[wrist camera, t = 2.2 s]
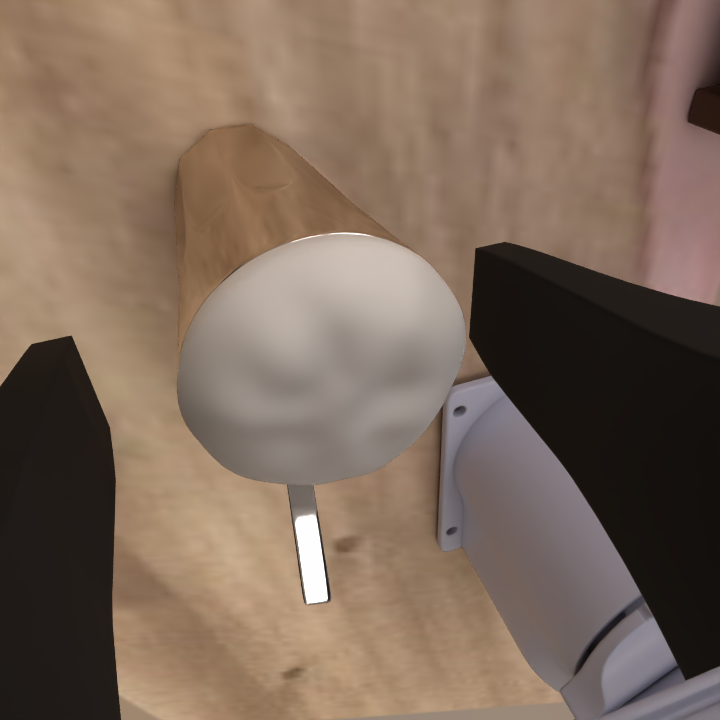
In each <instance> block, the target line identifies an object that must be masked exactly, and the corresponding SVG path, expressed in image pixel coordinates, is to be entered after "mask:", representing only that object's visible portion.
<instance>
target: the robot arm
mask: <svg viewBox="0 0 720 720" xmlns="http://www.w3.org/2000/svg"><path fill="white" fill-rule="evenodd" d="M469 338H470V340H471V342H472V343H473V345H474V347H475V349H476V351H477V352H478V354H479V356H480V358H481V360H482V361H483V363H484V365H485V366H486V368H487V369H488V371H489V373H490V374H491V376H488V377H484V378H481V379H477V380H473V381H469V382H466V383H462V384H458V385H455V386H453V387H451V389H450V391H449V393H448V395H447V397H446V399H445V401H444V403H443V420H442V443H441V467H440V491H439V514H438V538H437V543H438V545H439V547H440V549H441V550H442V551H444V552H449V551H452V550H455V549H458V548H461V547H463V549H464V551H465V553H466V554H467V556H468V558H469V560H470V562H471V563H472V565H473V567H474V569H475V571H476V572H477V574H478V576H479V578H480V580H481V581H482V583H483V585H484V587H485V588H486V590H487V592H488V594H489V596H490V597H491V599H492V601H493V603H494V605H495V606H496V608H497V610H498V612H499V614H500V615H501V617H502V619H503V621H504V622H505V624H506V626H507V628H508V630H509V631H510V633H511V635H512V637H513V639H514V640H515V642H516V644H517V646H518V648H519V649H520V651H521V653H522V655H523V656H524V658H525V659H526V661H527V662H528V664H529V665H530V667H531V668H532V669H533V670H534V672H535V673H536V674H537V675H538V676H539V677H540V678H541V679H542V680H543V681H544V682H546V683H547V684H548V685H549V686H551V687H552V688H554V689H555V690H556V691H558V692H560V693H561V695H562V697H563V699H564V700H565V702H566V704H567V705H568V707H569V709H570V711H571V712H572V714H573V715H574V717H575V719H574V720H720V307H719V306H715V305H710V304H706V303H701V302H697V301H692V300H688V299H684V298H681V297H677V296H673V295H669V294H666V293H662V292H659V291H656V290H652V289H649V288H645V287H642V286H639V285H635V284H632V283H629V282H626V281H623V280H620V279H617V278H614V277H611V276H608V275H605V274H602V273H599V272H596V271H593V270H590V269H587V268H584V267H582V266H579V265H576V264H573V263H570V262H567V261H565V260H562V259H559V258H556V257H553V256H550V255H548V254H545V253H542V252H539V251H536V250H533V249H529V248H526V247H523V246H519V245H516V244H511V243H507V242H503V243H498V244H493V245H489V246H484V247H480V248H476V250H475V264H474V278H473V291H472V305H471V319H470V333H469ZM459 406H460V407H459ZM457 407H459V408H458V409H456V408H457ZM455 409H456V410H455ZM115 486H116V477H115V468H114V458H113V449H112V441H111V433H110V427H109V424H108V422H107V420H106V417H105V415H104V412H103V410H102V408H101V405H100V403H99V400H98V398H97V395H96V393H95V391H94V388H93V386H92V383H91V381H90V379H89V376H88V374H87V371H86V369H85V366H84V364H83V362H82V359H81V357H80V354H79V352H78V350H77V347H76V345H75V342H74V340H73V338H72V336H67V337H62V338H58V339H53V340H48V341H44V342H39V343H35V344H31V346H30V347H29V348H28V349H27V351H26V352H25V353H24V354H23V356H22V357H21V359H20V360H19V361H18V363H17V364H16V365H15V367H14V368H13V370H12V371H11V372H10V374H9V375H8V377H7V378H6V379H5V381H4V382H3V383H2V385H1V386H0V720H121V714H120V705H119V694H118V684H117V672H116V660H115V647H114V635H113V616H112V587H113V556H114V525H115Z"/></svg>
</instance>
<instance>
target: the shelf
mask: <svg viewBox="0 0 720 720" xmlns="http://www.w3.org/2000/svg"><path fill="white" fill-rule="evenodd" d="M688 122H689V123H691V124H694V125H696V126H699V127H701V128H704V129H707V130H709V131H712V132H715V133H717V134H720V86H716V87H710V88H704V89H699V90H697V91H696V93H695V96H694V100H693V104H692V108H691V111H690V115H689V119H688Z"/></svg>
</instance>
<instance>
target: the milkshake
mask: <svg viewBox="0 0 720 720" xmlns="http://www.w3.org/2000/svg"><path fill="white" fill-rule="evenodd" d="M174 207H175V226H176V244H177V263H178V281H179V296H178V372H177V395H178V403H179V407H180V411H181V414H182V417H183V419H184V421H185V423H186V425H187V426H188V428H189V430H190V431H191V432H192V434H193V435H194V436H195V437H196V439H197V440H198V441H199V442H200V443H201V444H202V445H203V447H204V448H205V449H206V450H207V451H208V452H209V454H210V455H211V456H212V457H213V458H214V459H216V460H217V461H218V462H219V463H220V464H221V465H222V466H224V467H225V468H227V469H228V470H230V471H232V472H234V473H236V474H238V475H240V476H243V477H246V478H249V479H253V480H258V481H263V482H270V483H278V484H287V487H288V494H289V502H290V509H291V516H292V523H293V530H294V537H295V544H296V551H297V559H298V566H299V573H300V580H301V587H302V594H303V599H304V603H305V604H306V605H315V604H322V603H328V602H330V601H331V592H330V585H329V579H328V573H327V567H326V560H325V554H324V548H323V542H322V535H321V529H320V523H319V517H318V511H317V504H316V498H315V492H314V486H313V485H319V484H324V483H329V482H334V481H338V480H342V479H347V478H352V477H357V476H361V475H365V474H368V473H371V472H374V471H376V470H378V469H380V468H381V467H383V466H385V465H386V464H387V463H389V462H390V461H392V460H393V459H394V458H396V457H397V456H399V455H400V454H401V453H403V452H404V451H405V450H406V449H408V448H409V447H410V446H411V445H412V444H413V443H414V442H415V441H416V440H417V439H418V438H419V437H420V436H421V435H422V434H423V433H424V431H425V430H426V429H427V428H428V427H429V425H430V424H431V423H432V421H433V420H434V418H435V417H436V415H437V414H438V412H439V411H440V409H441V407H442V405H443V403H444V401H445V399H446V397H447V395H448V393H449V391H450V389H451V387H452V385H453V383H454V381H455V379H456V377H457V374H458V372H459V369H460V367H461V364H462V360H463V356H464V351H465V343H466V329H465V321H464V317H463V313H462V310H461V308H460V306H459V303H458V301H457V299H456V298H455V296H454V294H453V293H452V291H451V290H450V288H449V287H448V286H447V284H446V283H445V282H444V280H443V279H442V278H441V277H440V275H439V274H438V273H437V272H436V271H435V270H434V268H433V267H432V266H431V265H430V264H429V263H427V262H426V261H425V260H424V259H423V258H422V257H420V256H419V255H418V254H417V253H415V252H414V251H413V250H412V249H410V248H409V247H408V246H407V245H405V244H404V243H403V242H402V241H400V240H399V239H398V238H397V237H395V236H394V235H393V234H391V233H390V232H389V231H388V230H386V229H385V228H384V227H383V226H381V225H380V224H379V223H378V222H376V221H375V220H374V219H372V218H371V217H370V216H369V215H367V214H366V213H365V212H364V211H362V210H361V209H360V208H358V207H357V206H356V205H355V204H354V203H353V202H352V201H351V200H349V199H348V198H347V197H346V196H345V195H344V194H343V193H342V192H341V191H339V190H338V189H337V188H336V187H335V186H334V185H333V184H332V183H331V182H329V181H328V180H327V179H326V178H325V177H324V176H323V175H322V174H321V173H319V172H318V171H317V170H316V169H315V168H314V167H313V166H312V165H310V164H309V163H308V162H307V161H306V160H305V159H304V158H303V157H302V156H300V155H299V154H298V153H297V152H296V151H295V150H294V149H293V148H291V147H290V146H289V145H287V144H286V143H284V142H282V141H280V140H279V139H277V138H275V137H273V136H272V135H270V134H268V133H266V132H265V131H263V130H261V129H259V128H258V127H256V126H254V125H252V124H250V125H242V126H234V127H227V128H218V129H210V130H209V131H208V132H207V133H206V134H205V135H204V136H203V137H202V138H201V139H200V140H199V141H198V142H197V143H196V144H195V145H194V146H193V147H192V148H191V149H189V150H188V151H187V152H186V153H185V154H184V155H183V156H182V157H181V158H180V160H179V167H178V175H177V184H176V192H175V200H174Z"/></svg>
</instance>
